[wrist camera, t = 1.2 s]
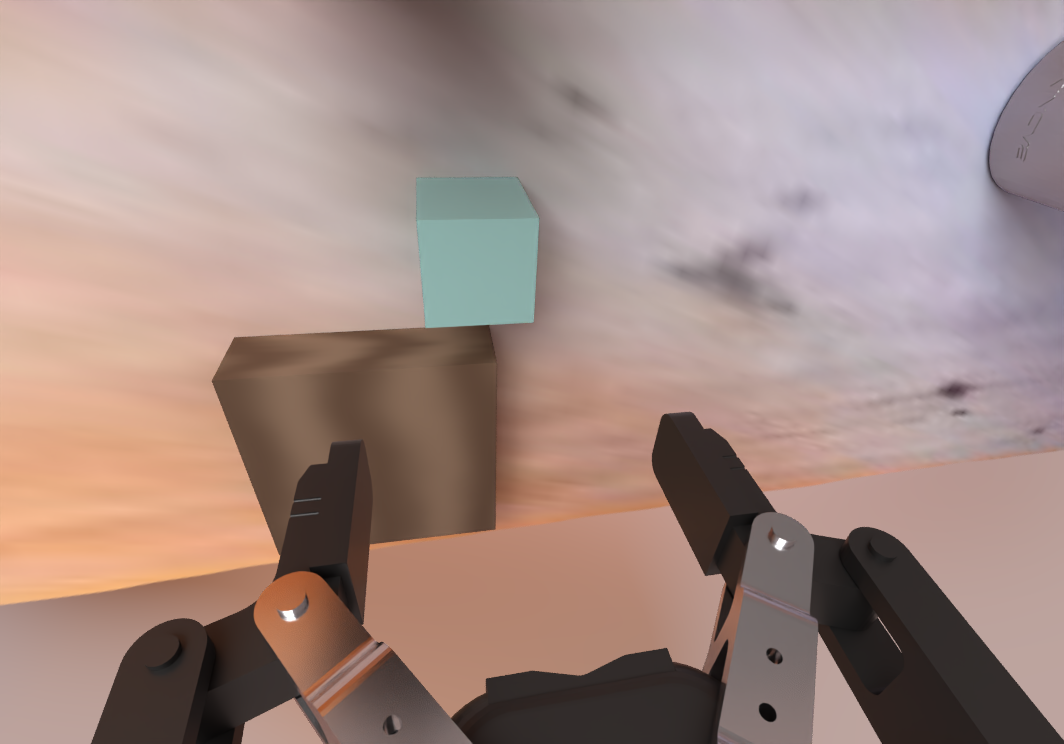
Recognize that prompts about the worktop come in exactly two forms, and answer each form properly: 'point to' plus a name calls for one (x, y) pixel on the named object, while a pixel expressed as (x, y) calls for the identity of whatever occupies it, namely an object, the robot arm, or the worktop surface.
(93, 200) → the worktop surface
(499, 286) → the teal block
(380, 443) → the stacking base
